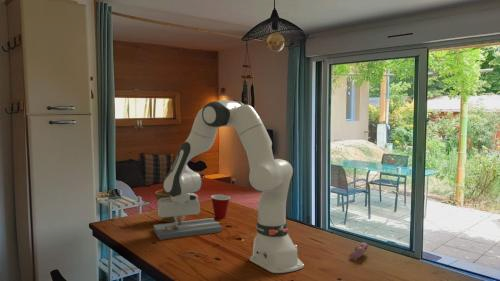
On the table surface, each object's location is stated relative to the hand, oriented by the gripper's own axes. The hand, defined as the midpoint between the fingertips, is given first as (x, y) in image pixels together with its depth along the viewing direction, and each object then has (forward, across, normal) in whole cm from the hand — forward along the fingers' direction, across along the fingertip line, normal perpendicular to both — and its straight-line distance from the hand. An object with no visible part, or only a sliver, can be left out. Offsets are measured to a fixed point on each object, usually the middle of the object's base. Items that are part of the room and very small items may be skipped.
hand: (179, 224), depth 182 cm
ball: (+2, -4, 0) cm, 4 cm away
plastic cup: (+4, +27, +16) cm, 32 cm away
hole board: (+4, +4, 0) cm, 5 cm away
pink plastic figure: (+4, +59, -61) cm, 85 cm away
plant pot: (+4, 0, +21) cm, 21 cm away
